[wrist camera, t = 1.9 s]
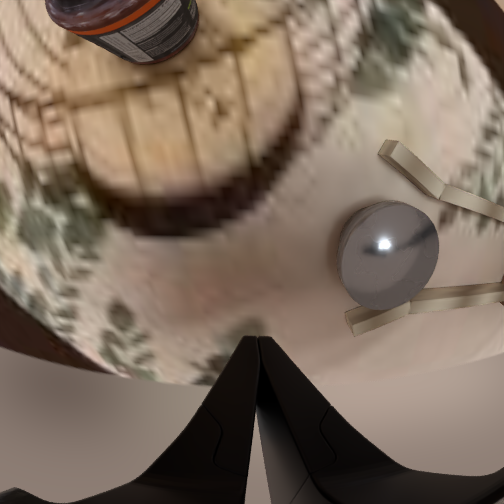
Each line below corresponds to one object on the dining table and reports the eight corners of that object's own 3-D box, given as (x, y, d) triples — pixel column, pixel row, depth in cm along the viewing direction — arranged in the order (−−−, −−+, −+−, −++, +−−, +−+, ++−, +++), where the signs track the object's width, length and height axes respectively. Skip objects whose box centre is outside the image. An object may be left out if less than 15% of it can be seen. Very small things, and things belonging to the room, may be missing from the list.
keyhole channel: (531, 190, 19) (551, 198, 16) (493, 315, 24) (508, 329, 21) (379, 138, 17) (401, 140, 15) (341, 323, 23) (353, 346, 20)
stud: (420, 199, 19) (449, 213, 15) (398, 284, 22) (420, 309, 18) (334, 185, 19) (355, 197, 15) (317, 281, 21) (331, 309, 18)
